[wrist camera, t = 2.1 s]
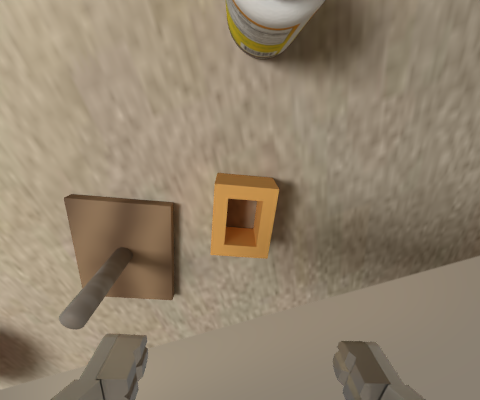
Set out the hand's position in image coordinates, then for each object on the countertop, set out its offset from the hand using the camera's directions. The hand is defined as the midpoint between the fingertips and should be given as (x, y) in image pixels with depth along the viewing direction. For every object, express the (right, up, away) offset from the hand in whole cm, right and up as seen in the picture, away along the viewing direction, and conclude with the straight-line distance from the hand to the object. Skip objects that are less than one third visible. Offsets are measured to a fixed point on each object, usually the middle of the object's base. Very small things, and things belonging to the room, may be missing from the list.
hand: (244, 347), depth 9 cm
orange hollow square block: (0, +5, +14) cm, 15 cm away
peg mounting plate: (-13, +1, +15) cm, 20 cm away
